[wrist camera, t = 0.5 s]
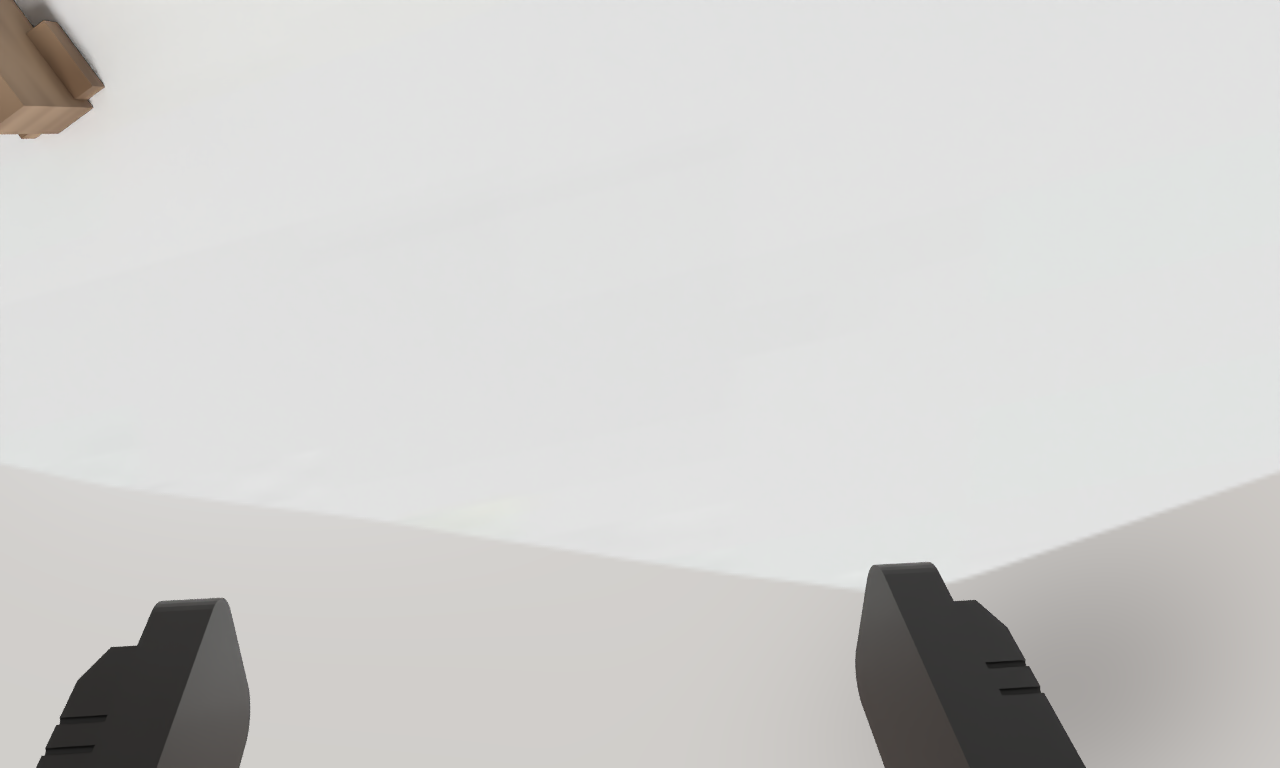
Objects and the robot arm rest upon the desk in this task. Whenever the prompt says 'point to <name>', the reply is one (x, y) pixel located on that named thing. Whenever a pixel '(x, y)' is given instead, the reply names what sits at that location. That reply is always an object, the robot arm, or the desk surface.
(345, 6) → the desk surface
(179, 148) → the desk surface
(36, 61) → the walnut fence
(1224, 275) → the desk surface
